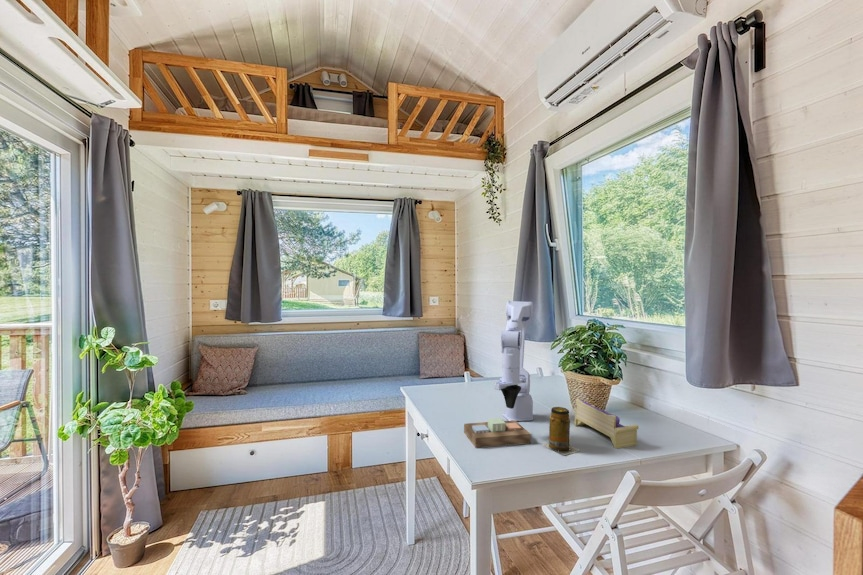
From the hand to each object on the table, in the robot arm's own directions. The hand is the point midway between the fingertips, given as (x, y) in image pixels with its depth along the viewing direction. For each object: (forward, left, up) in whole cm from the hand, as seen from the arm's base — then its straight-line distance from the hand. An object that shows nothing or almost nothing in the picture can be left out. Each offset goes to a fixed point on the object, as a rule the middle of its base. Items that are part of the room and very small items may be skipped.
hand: (510, 407), depth 133 cm
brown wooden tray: (+5, +1, -9) cm, 11 cm away
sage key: (+5, +1, -7) cm, 9 cm away
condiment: (-12, +12, -10) cm, 19 cm away
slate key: (+11, +1, -9) cm, 14 cm away
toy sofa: (-32, +5, -10) cm, 34 cm away
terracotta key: (0, +1, -9) cm, 9 cm away
